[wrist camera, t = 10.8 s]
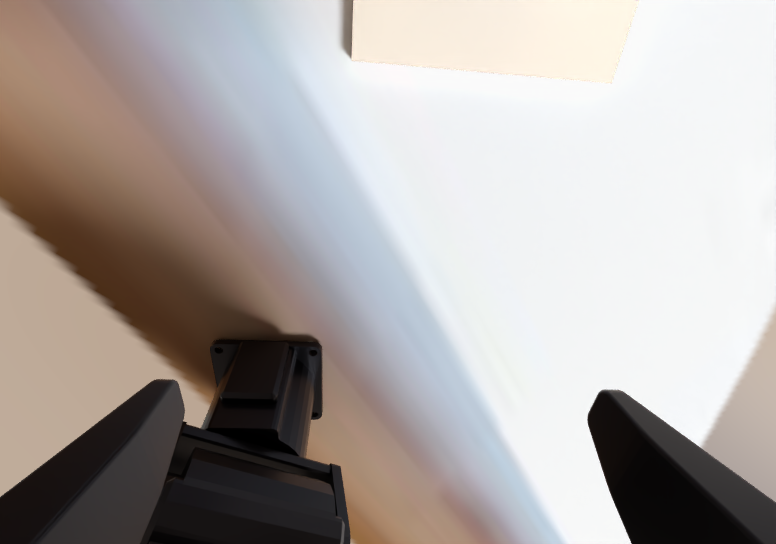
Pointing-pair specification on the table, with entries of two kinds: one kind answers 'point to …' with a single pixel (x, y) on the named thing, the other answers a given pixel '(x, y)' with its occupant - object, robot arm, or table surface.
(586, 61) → the coaster tile
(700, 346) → the table surface
